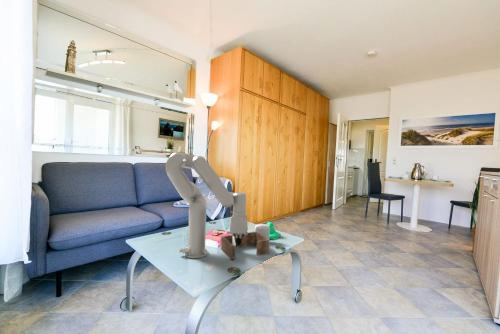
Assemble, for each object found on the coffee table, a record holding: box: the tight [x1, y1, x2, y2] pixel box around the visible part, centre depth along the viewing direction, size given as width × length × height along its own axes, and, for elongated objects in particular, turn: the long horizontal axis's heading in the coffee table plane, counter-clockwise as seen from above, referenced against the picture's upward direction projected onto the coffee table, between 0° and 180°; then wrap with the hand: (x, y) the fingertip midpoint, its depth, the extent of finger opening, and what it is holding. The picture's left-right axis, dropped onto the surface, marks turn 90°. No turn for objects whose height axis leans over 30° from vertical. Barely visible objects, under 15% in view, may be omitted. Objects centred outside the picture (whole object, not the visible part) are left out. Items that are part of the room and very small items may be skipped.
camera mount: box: [266, 221, 282, 240], centre depth 156 cm, size 12×8×10 cm, turn 124°
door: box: [232, 236, 237, 260], centre depth 126 cm, size 14×2×8 cm, turn 8°
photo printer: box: [254, 223, 270, 240], centre depth 145 cm, size 10×4×12 cm, turn 98°
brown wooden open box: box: [220, 230, 270, 261], centre depth 130 cm, size 24×16×8 cm, turn 119°
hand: (238, 244), depth 129 cm, fingers closed
